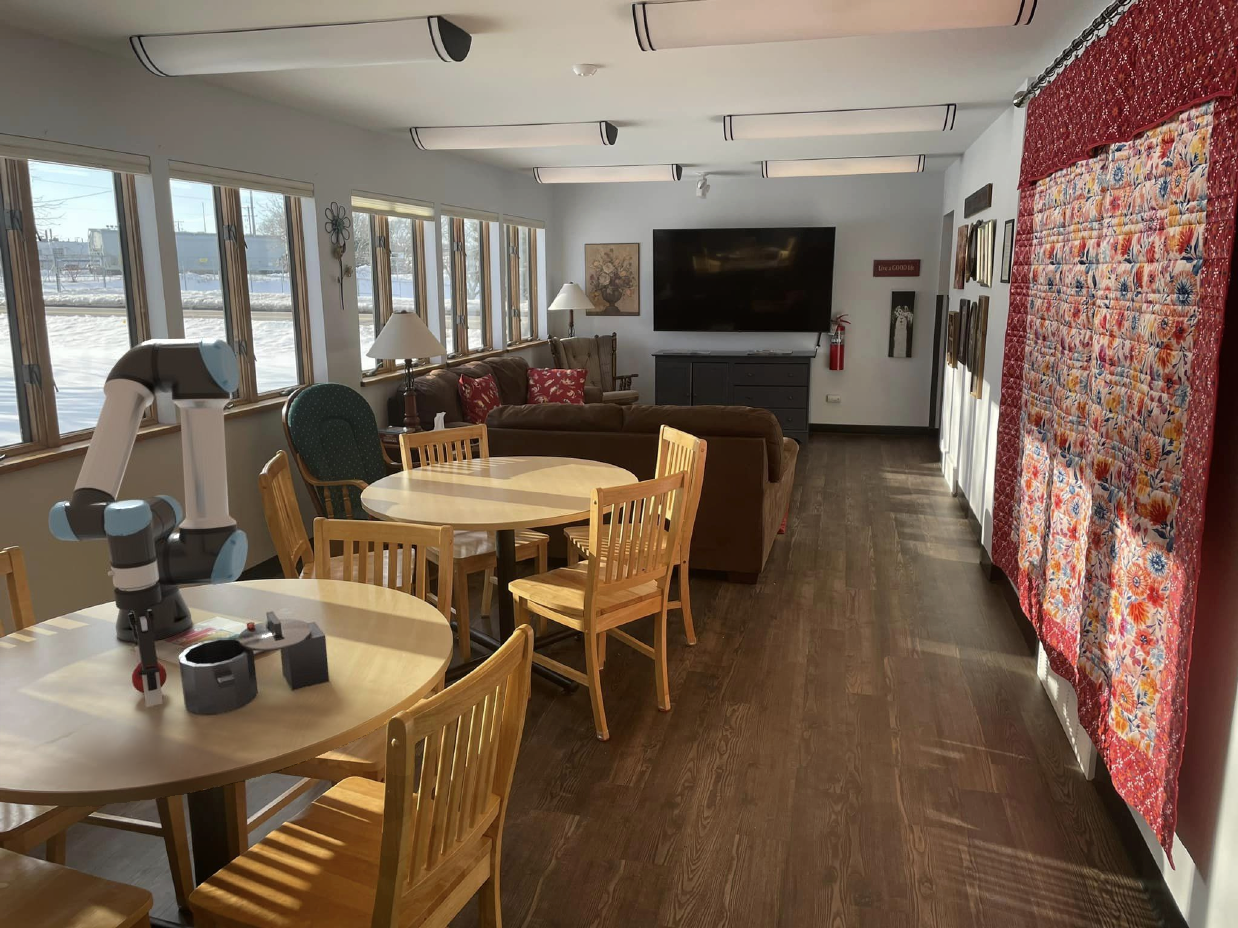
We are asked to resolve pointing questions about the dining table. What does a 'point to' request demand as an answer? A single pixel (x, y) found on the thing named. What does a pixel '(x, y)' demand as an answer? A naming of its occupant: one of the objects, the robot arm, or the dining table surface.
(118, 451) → the robot arm
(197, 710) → the pot
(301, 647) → the block
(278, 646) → the lid
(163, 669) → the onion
